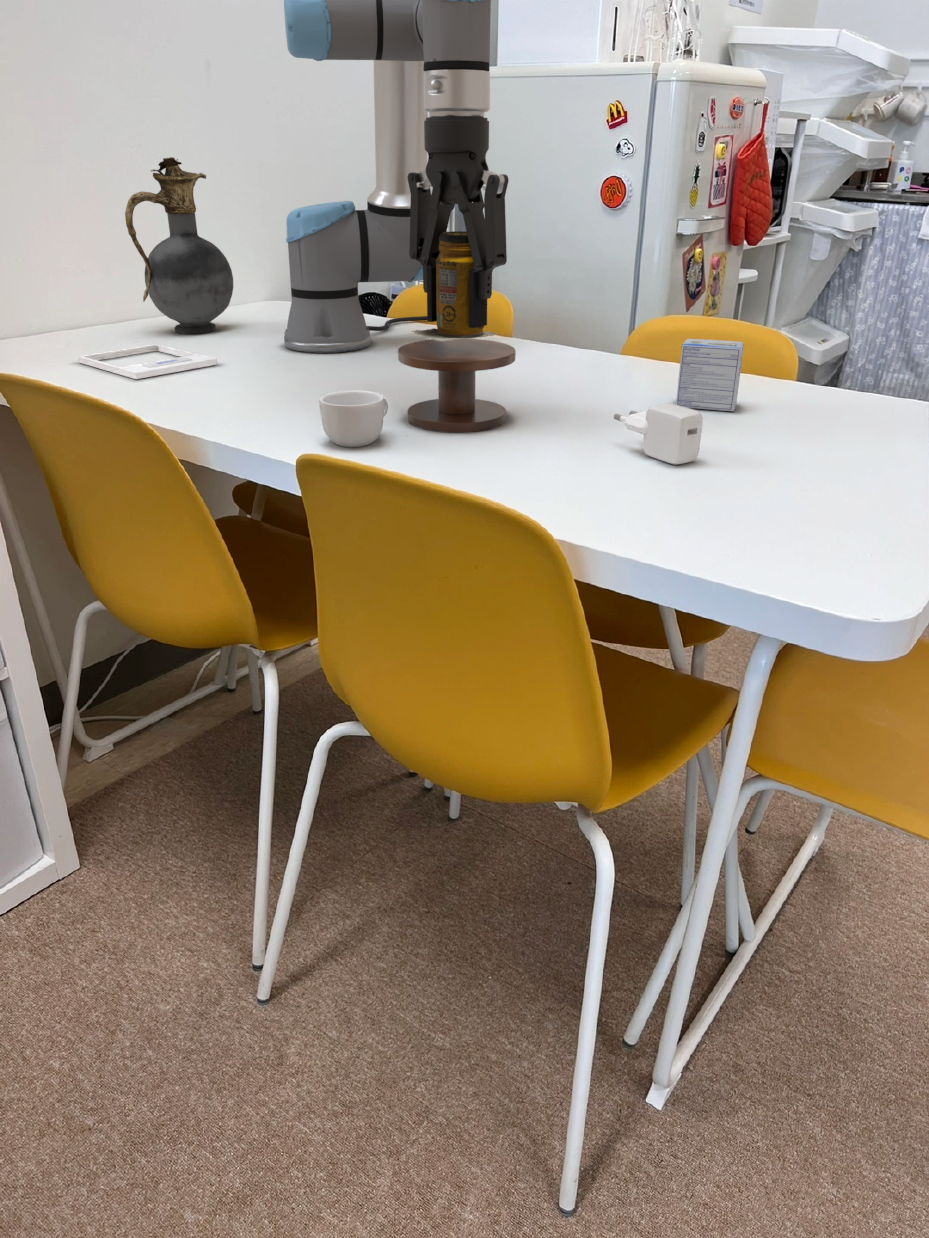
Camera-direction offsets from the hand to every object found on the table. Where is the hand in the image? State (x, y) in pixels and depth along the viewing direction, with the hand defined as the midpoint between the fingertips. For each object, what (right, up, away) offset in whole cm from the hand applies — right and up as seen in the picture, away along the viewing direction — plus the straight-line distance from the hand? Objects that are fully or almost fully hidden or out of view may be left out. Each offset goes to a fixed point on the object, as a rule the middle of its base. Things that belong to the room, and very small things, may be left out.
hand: (456, 323), depth 118 cm
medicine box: (+34, -8, +12) cm, 37 cm away
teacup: (-12, -16, -3) cm, 20 cm away
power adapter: (+23, -18, -8) cm, 30 cm away
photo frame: (-51, +4, +35) cm, 62 cm away
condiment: (0, -1, +1) cm, 2 cm away
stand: (0, -11, +6) cm, 12 cm away
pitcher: (-52, +17, +61) cm, 82 cm away
